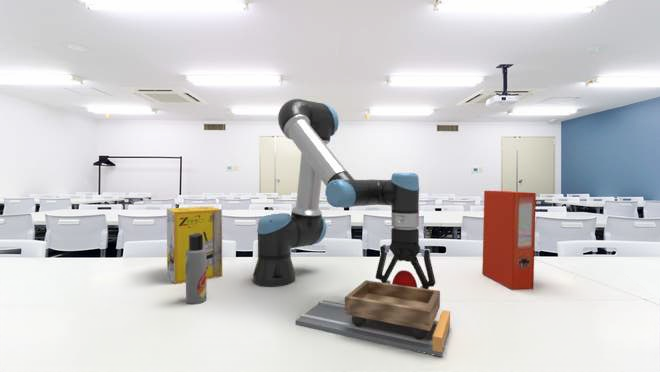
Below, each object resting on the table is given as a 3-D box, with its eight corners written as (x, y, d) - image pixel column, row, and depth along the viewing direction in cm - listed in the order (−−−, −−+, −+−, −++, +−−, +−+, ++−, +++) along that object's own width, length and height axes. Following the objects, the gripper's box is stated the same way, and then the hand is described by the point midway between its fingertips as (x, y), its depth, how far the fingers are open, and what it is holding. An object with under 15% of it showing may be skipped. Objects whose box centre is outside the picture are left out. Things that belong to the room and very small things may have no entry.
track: (295, 324, 83) (295, 308, 83) (323, 303, 97) (323, 290, 97) (441, 357, 68) (441, 337, 68) (450, 327, 82) (450, 311, 82)
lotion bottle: (210, 298, 101) (210, 233, 100) (197, 305, 95) (196, 236, 95) (195, 296, 103) (194, 232, 102) (181, 303, 97) (181, 234, 97)
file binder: (502, 274, 127) (503, 190, 126) (534, 289, 110) (535, 192, 109) (482, 274, 126) (483, 190, 126) (511, 289, 109) (512, 192, 108)
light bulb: (418, 315, 89) (418, 278, 89) (391, 313, 90) (391, 276, 90) (416, 302, 98) (416, 268, 98) (392, 300, 99) (392, 267, 99)
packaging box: (222, 276, 124) (221, 209, 123) (174, 284, 115) (174, 211, 114) (210, 266, 137) (210, 206, 136) (167, 273, 128) (166, 208, 127)
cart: (344, 326, 78) (344, 297, 78) (365, 305, 91) (365, 280, 91) (430, 345, 69) (430, 311, 69) (439, 318, 82) (439, 290, 82)
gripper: (363, 226, 95) (363, 305, 95) (443, 232, 85) (443, 319, 86) (372, 223, 102) (372, 296, 102) (447, 228, 92) (446, 308, 93)
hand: (404, 306), depth 94 cm, fingers open, 9 cm apart
